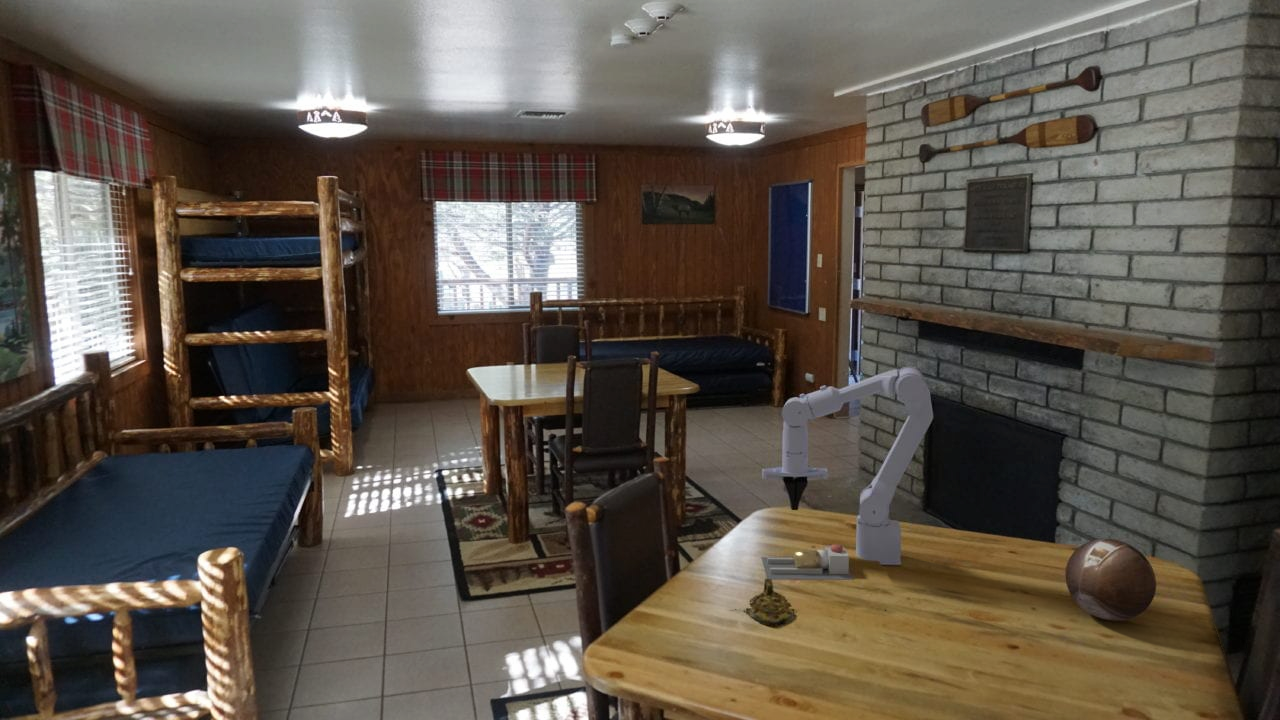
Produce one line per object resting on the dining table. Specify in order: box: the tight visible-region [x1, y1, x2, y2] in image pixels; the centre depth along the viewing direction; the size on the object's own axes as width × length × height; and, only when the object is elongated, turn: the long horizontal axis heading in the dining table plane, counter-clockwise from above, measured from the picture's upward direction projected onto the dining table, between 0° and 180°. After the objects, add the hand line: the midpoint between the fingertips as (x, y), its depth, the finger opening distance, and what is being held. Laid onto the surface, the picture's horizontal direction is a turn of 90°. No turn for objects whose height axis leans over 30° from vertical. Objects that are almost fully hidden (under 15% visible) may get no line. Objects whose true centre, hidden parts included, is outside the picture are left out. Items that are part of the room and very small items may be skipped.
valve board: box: [761, 543, 854, 581], centre depth 183 cm, size 18×12×6 cm, turn 87°
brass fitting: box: [793, 550, 820, 568], centre depth 183 cm, size 5×4×4 cm
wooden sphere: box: [1065, 538, 1157, 622], centre depth 161 cm, size 15×15×15 cm
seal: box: [745, 577, 795, 627], centre depth 166 cm, size 9×5×15 cm
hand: (794, 508), depth 194 cm, fingers closed
